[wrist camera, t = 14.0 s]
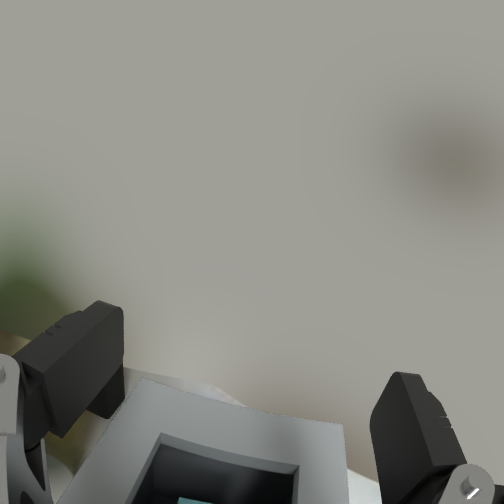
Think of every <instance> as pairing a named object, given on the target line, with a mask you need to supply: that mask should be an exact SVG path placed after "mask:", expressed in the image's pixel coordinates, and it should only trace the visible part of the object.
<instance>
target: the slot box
mask: <svg viewBox="0 0 504 504" xmlns="http://www.w3.org/2000/svg"><path fill="white" fill-rule="evenodd" d="M179 497H181V498H186V499H190V500H195V501H200V502H206V503H212V504H349V492H348V478H347V466H346V454H345V443H344V433H343V425H342V424H334V423H327V422H319V421H313V420H306V419H300V418H294V417H288V416H283V415H278V414H273V413H268V412H263V411H258V410H254V409H249V408H245V407H241V406H237V405H232V404H228V403H224V402H221V401H217V400H213V399H209V398H206V397H202V396H198V395H195V394H191V393H188V392H185V391H181V390H178V389H175V388H172V387H169V386H166V385H162V384H159V383H156V382H153V381H151V380H148V379H145V378H141V380H140V381H139V383H138V384H137V386H136V387H135V388H134V390H133V391H132V393H131V394H130V396H129V397H128V399H127V400H126V401H125V403H124V404H123V406H122V407H121V409H120V410H119V412H118V413H117V414H116V416H115V417H114V419H113V420H112V422H111V423H110V425H109V426H108V428H107V429H106V430H105V432H104V433H103V435H102V436H101V438H100V439H99V441H98V442H97V444H96V445H95V447H94V448H93V450H92V451H91V453H90V454H89V455H88V457H87V458H86V460H85V461H84V463H83V464H82V466H81V467H80V469H79V470H78V472H77V473H76V475H75V476H74V478H73V479H72V481H71V482H70V484H69V485H68V487H67V489H66V490H65V491H64V493H63V494H62V496H61V497H60V499H59V500H58V502H57V504H178V500H179Z"/></svg>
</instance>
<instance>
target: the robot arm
mask: <svg viewBox="0 0 504 504" xmlns="http://www.w3.org/2000/svg"><path fill="white" fill-rule="evenodd" d="M123 318H124V317H123V310H122V309H121V308H120V307H117V306H114V305H111V304H108V303H105V302H103V301H96V302H94V303H93V304H92V305H90V306H89V307H88V308H87V309H85V310H84V311H77V312H75V313H72V314H69V315H66V316H64V317H63V318H61V319H60V320H59V321H57V322H56V323H55V324H54V326H51V327H49V328H48V329H47V330H46V331H45V333H41V334H40V335H39V336H38V337H36V338H35V339H34V340H32V341H31V342H30V343H28V344H27V345H26V346H25V347H23V348H22V349H21V350H20V351H18V352H17V353H16V354H14V355H13V356H12V357H10V356H8V355H5V354H0V504H53V500H52V496H51V491H50V485H49V478H48V470H47V462H46V452H45V442H44V439H43V437H44V436H45V434H46V433H47V432H48V431H50V432H52V433H53V434H55V435H57V436H59V437H60V438H63V437H64V436H65V434H66V433H67V432H68V431H69V429H70V428H71V427H72V425H73V424H74V423H75V422H76V420H77V419H78V418H79V417H80V415H81V414H82V413H83V412H84V410H85V409H86V408H87V407H88V405H89V404H90V403H91V402H92V400H93V399H94V398H95V397H96V396H97V394H98V393H99V392H100V391H101V389H102V388H103V387H104V386H105V384H106V383H107V382H108V381H109V380H110V378H111V377H112V376H113V375H114V373H115V372H116V371H117V370H118V368H119V367H120V365H121V362H122V359H123V354H124V329H123V327H124V326H123V323H124V321H123V320H124V319H123ZM446 416H447V415H446V413H445V411H444V408H443V406H442V405H441V403H440V402H439V400H438V399H437V398H436V397H435V396H434V395H433V394H432V393H431V392H428V391H427V389H426V386H425V384H424V382H423V380H422V378H421V376H420V375H419V374H412V373H403V372H395V373H393V374H392V376H391V377H390V379H389V381H388V383H387V385H386V387H385V389H384V391H383V393H382V395H381V397H380V398H379V400H378V402H377V404H376V406H375V407H374V410H373V412H372V414H371V418H370V432H371V438H372V443H373V448H374V454H375V460H376V466H377V472H378V478H379V485H380V492H381V498H382V504H504V486H502V485H495V484H494V482H493V480H492V478H491V476H490V475H489V474H488V473H487V472H486V471H485V470H484V469H483V468H481V467H479V466H477V465H473V464H467V461H466V459H465V457H464V454H463V452H462V449H461V447H460V444H459V442H458V440H457V438H456V435H455V433H454V430H453V429H452V428H451V424H450V421H449V419H448V418H446Z"/></svg>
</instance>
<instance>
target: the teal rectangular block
mask: <svg viewBox="0 0 504 504" xmlns="http://www.w3.org/2000/svg"><path fill="white" fill-rule="evenodd" d="M178 504H212V503H206V502H200V501H195V500H190V499H186V498H181V497H179V500H178Z"/></svg>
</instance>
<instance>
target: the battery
mask: <svg viewBox="0 0 504 504" xmlns="http://www.w3.org/2000/svg"><path fill="white" fill-rule="evenodd" d="M124 398H125V392H124V376H123V359H122V362H121V365H120V367H119V368H118V370H117V371H116V372H115V373H114V375H113V376H112V377H111V378H110V380H109V381H108V382H107V383H106V384H105V386H104V387H103V388H102V389H101V391H100V392H99V393H98V394H97V396H96V397H95V398H94V399H93V400H92V402H91V403H90V404H89V405H88V407H87V408H86V409H87V410H89V411H91V412H93V413H95V414H97V415H99V416H101V417H103V418H105V419H108V418H109V417H110V416H111V415H112V414H113V412H114V411H115V410H116V409H117V407H118V406H119V405H120V404H121V402H122V401H123V400H124Z"/></svg>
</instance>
